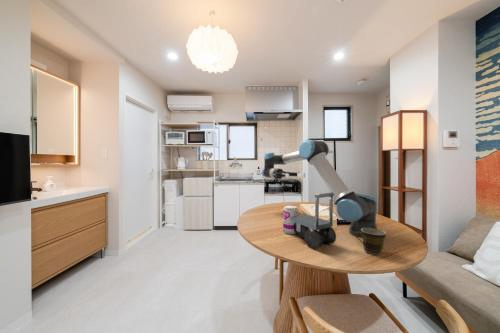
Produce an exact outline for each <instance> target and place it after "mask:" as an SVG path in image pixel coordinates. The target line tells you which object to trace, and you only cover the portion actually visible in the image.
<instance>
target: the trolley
mask: <svg viewBox="0 0 500 333" xmlns="http://www.w3.org/2000/svg"><path fill="white" fill-rule="evenodd" d="M328 197H329V202H328V203H329V204H328V206H329V207H328V209H329V210H328V214H329V215H328V220H326V219H323V218H320V217H319V214H320V213H319V210H320V199H321V198H328ZM314 198H315V204H314V207H315V209H314V215H311V214H308V213H305V214H298V216H292V217H290V221H293V222H295V224H294V231H295V234H294V235H296V236H297V237H298V238H300V239H304V241H305V244H306V245H307V247H308V248H310V249H312V250H314V249H319V248H321V246H322V244H323V245H327V246H328V245H333V244H335V242H336V240H337V234H336V231H335V230H334V228H333V226H334V222H333V219H334V218H333V212H334V210H333V208H334V193H332V192H325V193H316V194H314Z"/></svg>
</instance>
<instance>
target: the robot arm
mask: <svg viewBox="0 0 500 333" xmlns="http://www.w3.org/2000/svg"><path fill="white" fill-rule="evenodd" d="M298 148H299V149H298V150H296V151H293V152H287V153H285V154H275V152H265V153H264V167H263V168H262V170H261V175H262V176H263V177H264V178H268V179H274V180H277V179H278V180H281V179H283V178H285V179H290V177H297V178H306V173H303V172H299V171H297V172H294V171H293V172H290V171H285V170H283V169H282V168H276V167H275V165H276V166H278V165H283V166H284V165H287V164H291V163H295V162H301V161H304V160H306V161H307V162H308V164H309V165H311V166H313V167H314V169H315V170H316V171H317V173H318V174H319V176H320V177H321V179H322V180H323V182H324V184H326V186H327V188H328V189H329V190H330V193H334V196H333V198H334V203H335V205H336V206H335V207H336V213H337V215H338V216H339V217H340V218H341V219H342V220H344V221H347V222H350V226H349V228H348V232H349V234H350V235H351V236H354V237H356V236H357V237H358V238H360V239H362V235H361V234H360V233H357V234H356V236H355V233H356V232H361V229H362V228H374V229H379V228H378V226H377V223H376V222H377V203H378V202H377V197H376V196H375V195H371V194H364V193H363V194H362V193H356V192H355V191H354V190H350V189H349V187H348V186H347V184H346V183H345V182H344V181H343V179H342V178H341V176H340V175H339V174H338V172H337V171H336V169H335V168H334V166H333V165H332V164H331V162H330V161H329V160H328V158H327V157H328V154H329V150H330V149H329V146H328V144H327V143H326V141H325V142H324V141H322V140H315V139H305V140H303V141H301V142H300V145H299V147H298Z"/></svg>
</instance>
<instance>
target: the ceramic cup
mask: <svg viewBox="0 0 500 333" xmlns="http://www.w3.org/2000/svg"><path fill="white" fill-rule="evenodd" d="M357 233H360V234H361V235H362V238H360V237H357V236H356V234H357ZM386 236H387V233H386V232H385V231H384V230H381V229H379V228H378V229H374V228H362V229H361V232H356V233H355V236H354V237H355V238H356V239H357V240H359V241H360V242H361V243H362V245H363V251H364V252H365V253H366V254H368V255H371V256H378V255H379V256H380V255H381V254H382V252H383V249H384V244H385V242H386Z"/></svg>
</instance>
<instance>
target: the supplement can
mask: <svg viewBox="0 0 500 333" xmlns="http://www.w3.org/2000/svg"><path fill="white" fill-rule="evenodd" d="M282 211H283V213H282V214H283V215H282V219H283V220H282V231H283V233H284V234H287V235H296V234H295V231H294V224H295V222H293V221H290V217H292V216H298V215H299V213H298V212H299V210H298V208H297V206H295V205H285V206H284V207H283V210H282Z"/></svg>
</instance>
